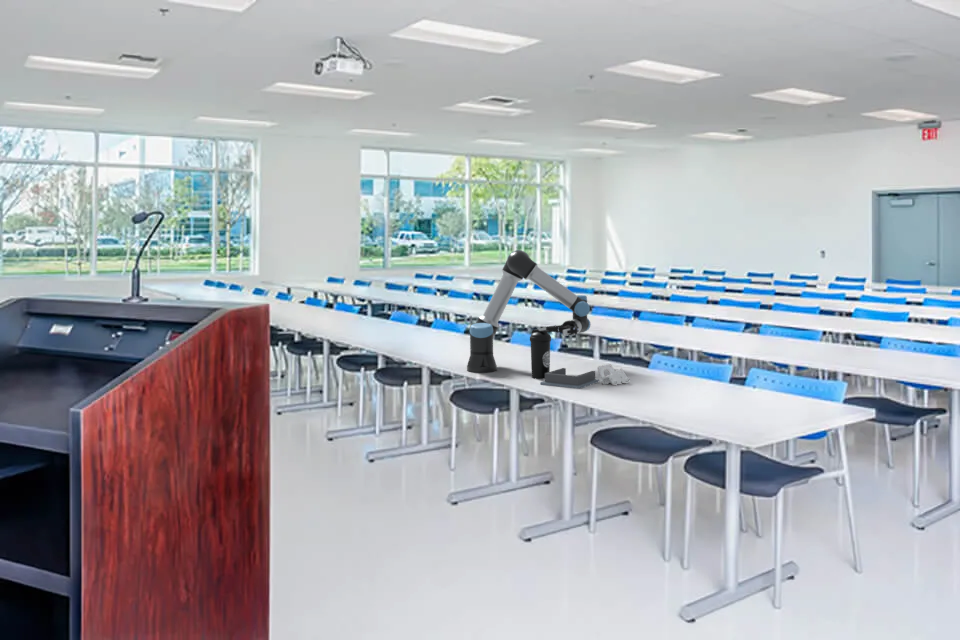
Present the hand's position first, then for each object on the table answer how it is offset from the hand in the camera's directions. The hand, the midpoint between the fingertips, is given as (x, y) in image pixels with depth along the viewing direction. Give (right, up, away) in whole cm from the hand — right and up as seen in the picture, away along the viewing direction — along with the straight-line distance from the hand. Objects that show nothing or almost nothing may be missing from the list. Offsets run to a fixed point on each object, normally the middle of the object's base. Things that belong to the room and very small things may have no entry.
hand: (551, 332), depth 390 cm
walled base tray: (+7, -23, -21) cm, 32 cm away
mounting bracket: (+27, -23, -23) cm, 43 cm away
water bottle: (-6, -22, -6) cm, 23 cm away
